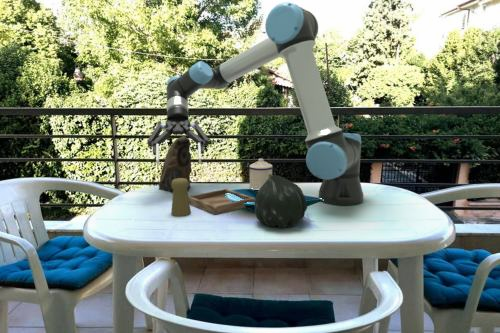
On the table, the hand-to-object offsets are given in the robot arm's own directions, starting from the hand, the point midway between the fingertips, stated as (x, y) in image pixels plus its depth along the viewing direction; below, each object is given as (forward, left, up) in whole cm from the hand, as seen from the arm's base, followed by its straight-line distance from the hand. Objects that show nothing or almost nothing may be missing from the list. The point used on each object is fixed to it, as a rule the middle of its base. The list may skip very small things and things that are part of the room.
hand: (179, 161), depth 125 cm
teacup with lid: (-1, -35, -15) cm, 38 cm away
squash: (-35, -12, -15) cm, 40 cm away
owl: (+19, -9, -15) cm, 25 cm away
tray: (-9, -10, -14) cm, 20 cm away
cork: (-9, +5, -15) cm, 18 cm away
